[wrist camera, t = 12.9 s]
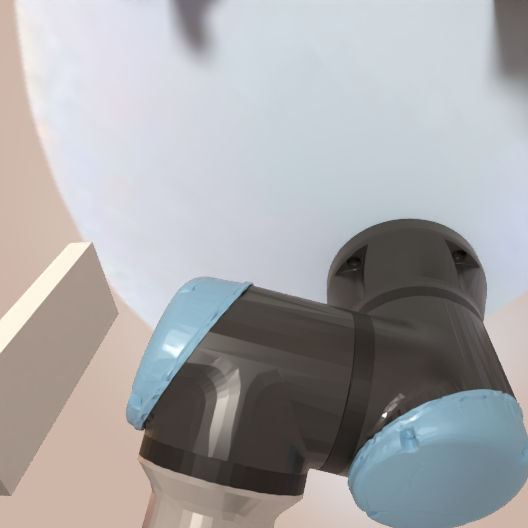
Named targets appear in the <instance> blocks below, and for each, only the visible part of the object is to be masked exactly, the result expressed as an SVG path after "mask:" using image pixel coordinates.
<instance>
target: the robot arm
mask: <svg viewBox="0 0 528 528" xmlns="http://www.w3.org/2000/svg"><path fill="white" fill-rule="evenodd" d="M486 296H487V283H486V277H485V273H484V270H483V268H482V265H481V263H480V261H479V259H478V257H477V255H476V253H475V251H474V249H473V248H472V247H471V245H470V244H469V243H468V242H467V241H466V240H465V239H464V238H463V237H462V236H461V235H459V234H458V233H457V232H455V231H453V230H452V229H450V228H448V227H446V226H444V225H441V224H438V223H435V222H431V221H427V220H420V219H399V220H392V221H387V222H383V223H380V224H377V225H374V226H372V227H370V228H368V229H366V230H364V231H362V232H360V233H359V234H357V235H356V236H354V237H353V238H352V239H350V240H349V241H348V242H347V243H346V244H345V245H344V246H343V247H342V248H341V249H340V251H339V252H338V253H337V255H336V257H335V258H334V260H333V262H332V264H331V267H330V270H329V273H328V279H327V302H328V304H323V303H319V302H315V301H311V300H307V299H303V298H299V297H295V296H291V295H287V294H283V293H279V292H275V291H271V290H267V289H263V288H259V287H256V286H253V283H251V282H245V283H238V282H233V281H228V280H222V279H217V278H212V277H198V278H194V279H192V280H190V281H189V282H187V283H186V284H185V285H183V286H182V287H181V288H180V289H179V290H178V292H177V293H176V294H175V296H174V297H173V299H172V300H171V302H170V303H169V305H168V306H167V308H166V310H165V311H164V313H163V315H162V317H161V319H160V321H159V323H158V325H157V327H156V329H155V331H154V333H153V335H152V337H151V339H150V341H149V343H148V346H147V348H146V350H145V353H144V355H143V358H142V360H141V363H140V365H139V368H138V371H137V373H136V376H135V379H134V382H133V386H132V393H131V396H130V399H129V401H128V404H127V409H126V418H127V421H128V423H130V424H131V425H133V426H134V427H135V429H136V430H144V429H145V434H144V438H143V441H142V445H141V448H140V452H139V456H138V460H139V462H140V464H141V466H142V468H143V469H144V471H145V473H146V475H147V477H148V479H149V480H150V483H151V487H152V493H151V496H150V500H149V504H148V507H147V511H146V515H145V519H144V522H143V526H142V528H273V527H274V522H275V520H276V518H277V517H278V516H279V514H281V513H282V512H284V511H285V510H286V509H288V508H290V507H291V506H292V505H294V504H295V503H297V502H298V501H300V500H301V499H302V498H303V493H304V488H305V483H306V478H307V473H308V471H309V469H310V468H312V469H316V470H320V471H325V472H329V473H333V474H336V475H341V476H345V477H348V486H349V490H350V491H351V494H352V495H353V498H354V501H355V503H356V504H357V506H358V507H359V508H360V509H361V510H362V511H366V513H367V515H368V517H370V518H371V519H373V520H375V521H376V522H379V523H381V524H384V525H387V526H390V527H393V528H453V527H457V526H461V525H465V524H467V523H469V522H472V521H476V520H479V519H481V518H484V517H486V516H488V515H490V514H492V513H494V512H495V511H497V510H499V509H500V508H501V507H503V506H504V505H506V504H507V503H508V502H509V501H511V500H512V498H514V497H515V496H516V495H517V493H518V492H519V491H520V490H521V488H522V487H523V485H524V484H525V482H526V480H527V478H528V437H527V433H526V430H525V427H524V424H523V413H522V409H521V408H520V406H519V403H517V400H516V398H515V396H514V393H513V391H512V389H511V386H510V384H509V382H508V380H507V377H506V375H505V373H504V370H503V368H502V366H501V363H500V361H499V359H498V356H497V354H496V352H495V349H494V347H493V345H492V343H491V340H490V338H489V336H488V333H487V331H486V329H485V327H484V324H483V320H484V312H485V304H486ZM117 315H118V311H117V308H116V305H115V302H114V300H113V297H112V294H111V292H110V289H109V286H108V283H107V281H106V278H105V275H104V273H103V270H102V267H101V264H100V262H99V259H98V256H97V254H96V251H95V248H94V245H93V243H92V242H83V243H70V244H68V246H67V247H66V248H65V249H64V250H63V251H62V253H60V254H59V256H58V257H57V258H56V259H55V260H54V261H53V263H51V265H50V266H49V267H48V268H47V269H46V270H45V271H44V272H43V273H42V275H41V276H40V277H39V278H38V279H37V280H36V281H35V282H34V283H33V285H32V286H31V287H30V288H29V289H28V290H27V291H26V292H25V293H24V295H23V296H22V297H21V298H20V299H19V300H18V301H17V302H16V303H15V305H14V306H13V307H12V308H11V309H10V310H9V311H8V312H7V313H6V315H5V316H4V317H3V318H2V319H1V320H0V495H4V496H11V495H12V493H13V492H14V490H15V488H16V487H17V485H18V483H19V482H20V480H21V478H22V476H23V475H24V473H25V471H26V470H27V468H28V466H29V465H30V463H31V461H32V460H33V458H34V456H35V454H36V453H37V451H38V449H39V448H40V446H41V444H42V442H43V441H44V439H45V437H46V436H47V434H48V432H49V431H50V429H51V427H52V426H53V424H54V422H55V421H56V419H57V417H58V415H59V414H60V412H61V410H62V409H63V407H64V405H65V404H66V402H67V400H68V398H69V397H70V395H71V393H72V392H73V390H74V388H75V387H76V385H77V383H78V382H79V380H80V378H81V376H82V375H83V373H84V371H85V370H86V368H87V366H88V365H89V363H90V361H91V359H92V358H93V356H94V354H95V353H96V351H97V349H98V348H99V346H100V344H101V342H102V341H103V339H104V337H105V336H106V334H107V332H108V331H109V329H110V327H111V326H112V324H113V322H114V321H115V318H116V317H117Z"/></svg>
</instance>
